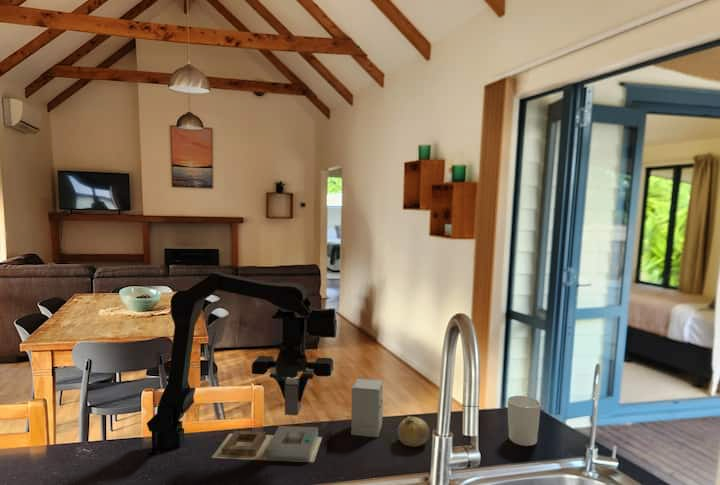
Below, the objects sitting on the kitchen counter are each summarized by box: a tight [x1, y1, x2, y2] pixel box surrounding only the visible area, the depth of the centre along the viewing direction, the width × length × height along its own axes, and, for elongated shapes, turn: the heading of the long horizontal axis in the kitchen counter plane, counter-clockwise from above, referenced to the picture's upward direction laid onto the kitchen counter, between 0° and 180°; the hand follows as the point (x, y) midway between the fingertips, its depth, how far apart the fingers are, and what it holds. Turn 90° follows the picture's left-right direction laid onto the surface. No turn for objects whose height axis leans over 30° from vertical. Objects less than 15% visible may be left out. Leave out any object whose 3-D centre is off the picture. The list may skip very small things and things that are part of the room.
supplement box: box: [350, 378, 384, 438], centre depth 124 cm, size 7×7×13 cm
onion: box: [397, 415, 430, 448], centre depth 118 cm, size 8×8×7 cm
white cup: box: [507, 395, 541, 447], centre depth 119 cm, size 8×8×10 cm
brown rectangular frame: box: [222, 430, 267, 456], centre depth 114 cm, size 8×9×2 cm
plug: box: [284, 376, 302, 416], centre depth 112 cm, size 3×4×8 cm, turn 176°
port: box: [265, 425, 319, 463], centre depth 113 cm, size 10×12×3 cm
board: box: [210, 433, 323, 463], centre depth 113 cm, size 24×12×1 cm, turn 86°
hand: (293, 400), depth 112 cm, fingers closed on plug, 3 cm apart
